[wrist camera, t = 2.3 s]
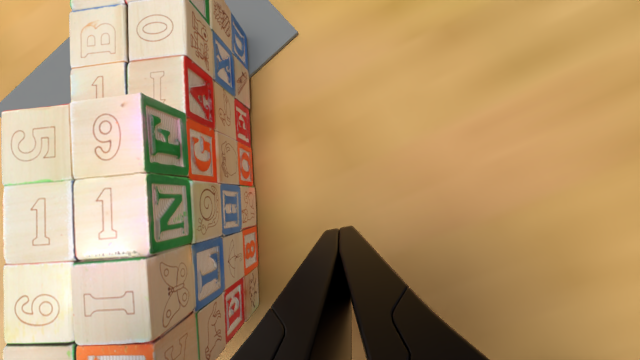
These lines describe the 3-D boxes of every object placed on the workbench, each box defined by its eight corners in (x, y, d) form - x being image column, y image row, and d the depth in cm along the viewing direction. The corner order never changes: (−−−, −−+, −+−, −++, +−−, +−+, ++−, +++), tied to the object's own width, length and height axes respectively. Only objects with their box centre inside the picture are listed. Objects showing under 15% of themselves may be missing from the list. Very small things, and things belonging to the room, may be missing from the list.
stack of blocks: (174, 44, 24) (-3, -110, 12) (248, 34, 24) (138, -137, 12) (183, 310, 23) (-8, 437, 11) (261, 308, 22) (152, 441, 10)
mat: (298, 34, 24) (297, 31, 23) (82, 229, 25) (79, 230, 24) (194, -77, 26) (192, -81, 25) (-2, 109, 27) (-6, 108, 26)
